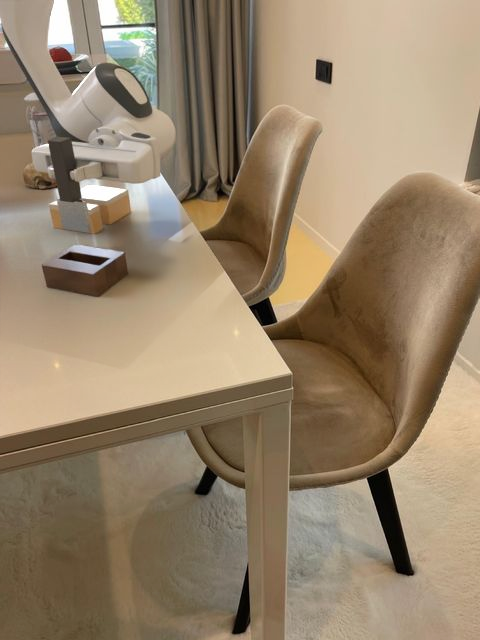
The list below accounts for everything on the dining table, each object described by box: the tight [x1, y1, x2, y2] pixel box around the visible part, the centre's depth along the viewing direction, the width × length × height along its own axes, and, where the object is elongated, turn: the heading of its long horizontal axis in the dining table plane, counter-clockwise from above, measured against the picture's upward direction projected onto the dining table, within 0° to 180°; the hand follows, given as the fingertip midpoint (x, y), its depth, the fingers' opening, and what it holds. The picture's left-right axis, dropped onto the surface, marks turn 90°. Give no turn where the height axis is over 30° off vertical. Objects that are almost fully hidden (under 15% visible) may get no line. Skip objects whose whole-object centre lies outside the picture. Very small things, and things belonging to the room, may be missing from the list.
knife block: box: [41, 243, 129, 298], centre depth 93 cm, size 10×9×4 cm
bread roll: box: [22, 161, 57, 190], centre depth 138 cm, size 10×10×8 cm
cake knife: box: [48, 137, 92, 234], centre depth 85 cm, size 5×2×14 cm, turn 69°
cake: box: [79, 184, 132, 225], centre depth 119 cm, size 10×8×5 cm
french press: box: [23, 92, 56, 147], centre depth 163 cm, size 10×12×25 cm
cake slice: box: [48, 199, 104, 235], centre depth 113 cm, size 10×3×5 cm, turn 69°
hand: (62, 175), depth 84 cm, fingers closed on cake knife, 2 cm apart
